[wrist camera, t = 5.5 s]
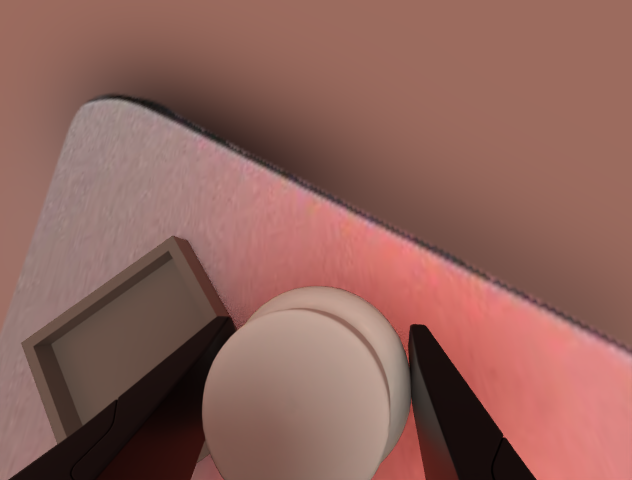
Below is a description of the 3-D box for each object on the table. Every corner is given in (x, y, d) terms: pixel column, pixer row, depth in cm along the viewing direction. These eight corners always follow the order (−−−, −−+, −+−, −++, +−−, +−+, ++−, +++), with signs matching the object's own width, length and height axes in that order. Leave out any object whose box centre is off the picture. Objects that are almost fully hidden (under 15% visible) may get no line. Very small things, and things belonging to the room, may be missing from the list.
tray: (114, 516, 23) (90, 535, 21) (47, 340, 26) (21, 342, 24) (278, 403, 22) (269, 412, 20) (187, 241, 26) (172, 235, 24)
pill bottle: (416, 385, 15) (485, 509, 6) (310, 427, 15) (213, 607, 6) (367, 278, 16) (359, 236, 7) (272, 319, 17) (144, 331, 8)
